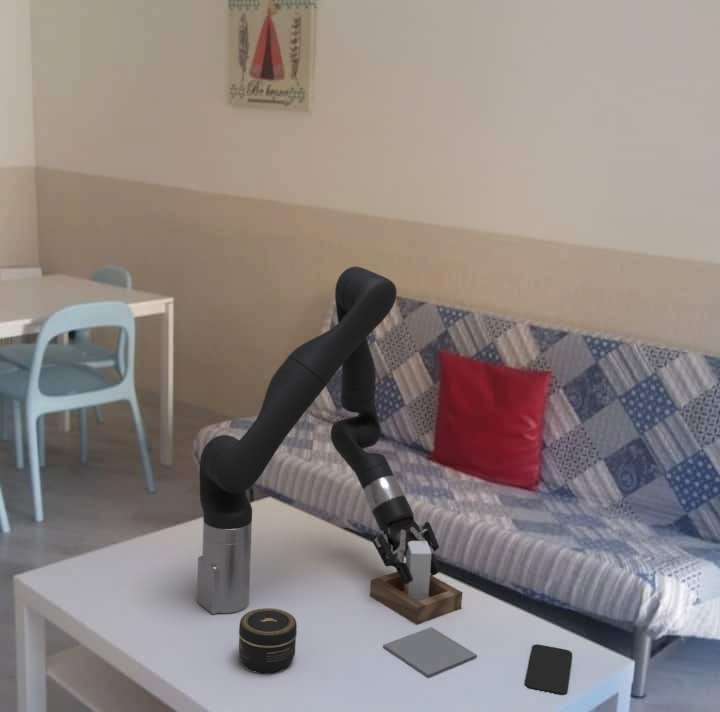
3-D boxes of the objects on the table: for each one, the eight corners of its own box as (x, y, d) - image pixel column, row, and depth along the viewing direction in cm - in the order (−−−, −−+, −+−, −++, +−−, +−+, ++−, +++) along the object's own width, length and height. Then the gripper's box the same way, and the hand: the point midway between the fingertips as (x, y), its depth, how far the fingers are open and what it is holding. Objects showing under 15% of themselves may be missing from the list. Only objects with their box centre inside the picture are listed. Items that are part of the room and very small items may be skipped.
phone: (523, 685, 165) (532, 643, 180) (522, 690, 166) (531, 647, 180) (567, 694, 164) (572, 650, 178) (566, 699, 164) (572, 654, 178)
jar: (228, 653, 171) (230, 613, 169) (279, 641, 176) (281, 602, 174) (252, 681, 162) (254, 640, 161) (305, 668, 167) (307, 627, 166)
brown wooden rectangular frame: (416, 624, 185) (417, 607, 184) (369, 595, 195) (370, 579, 194) (461, 608, 192) (462, 592, 191) (413, 581, 203) (414, 566, 202)
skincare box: (402, 594, 196) (406, 540, 194) (423, 595, 197) (427, 540, 194) (406, 609, 191) (410, 552, 188) (427, 609, 191) (432, 553, 188)
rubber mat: (428, 677, 167) (428, 674, 166) (383, 647, 176) (383, 644, 175) (476, 657, 174) (477, 654, 174) (431, 629, 183) (431, 626, 183)
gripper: (370, 501, 190) (405, 579, 184) (423, 488, 199) (459, 562, 193) (351, 517, 195) (385, 594, 189) (404, 504, 204) (438, 576, 198)
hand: (422, 577), depth 191 cm, fingers closed on skincare box, 6 cm apart
